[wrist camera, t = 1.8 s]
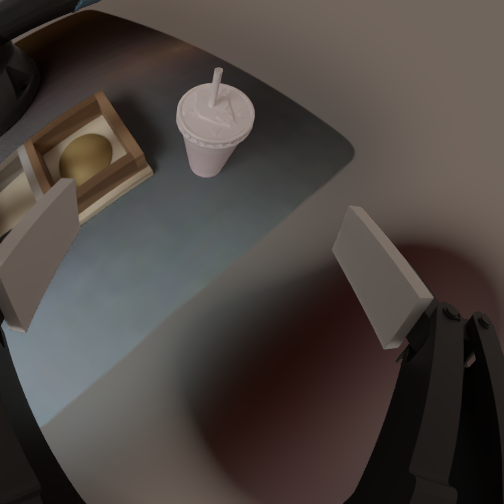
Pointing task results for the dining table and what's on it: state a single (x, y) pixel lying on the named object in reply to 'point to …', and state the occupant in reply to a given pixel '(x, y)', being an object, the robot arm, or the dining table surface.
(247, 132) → the smoothie
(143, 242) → the dining table surface
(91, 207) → the board
